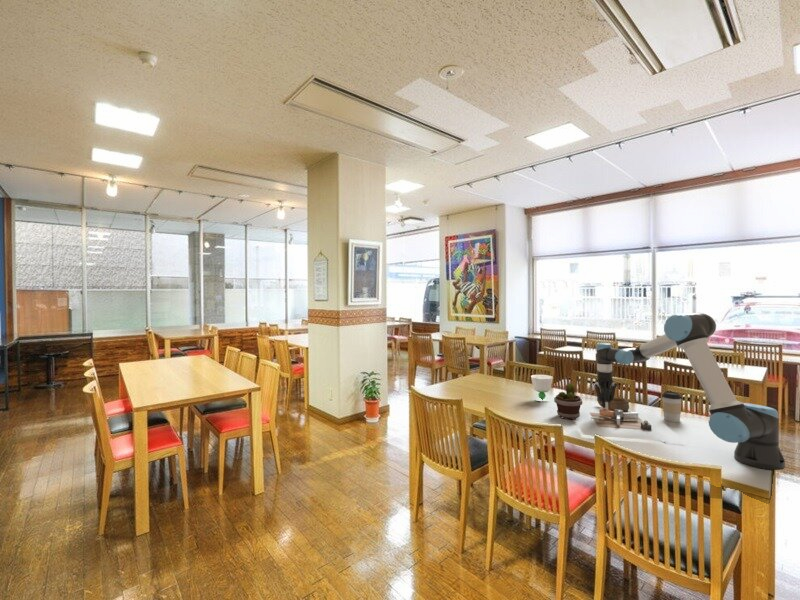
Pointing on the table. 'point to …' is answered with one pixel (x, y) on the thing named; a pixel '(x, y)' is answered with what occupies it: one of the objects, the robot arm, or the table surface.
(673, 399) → the coffee cup
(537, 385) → the cup
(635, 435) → the table surface
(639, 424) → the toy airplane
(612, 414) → the grey cross-shaped piece
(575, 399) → the flowerpot
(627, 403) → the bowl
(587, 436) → the table surface
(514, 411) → the table surface
